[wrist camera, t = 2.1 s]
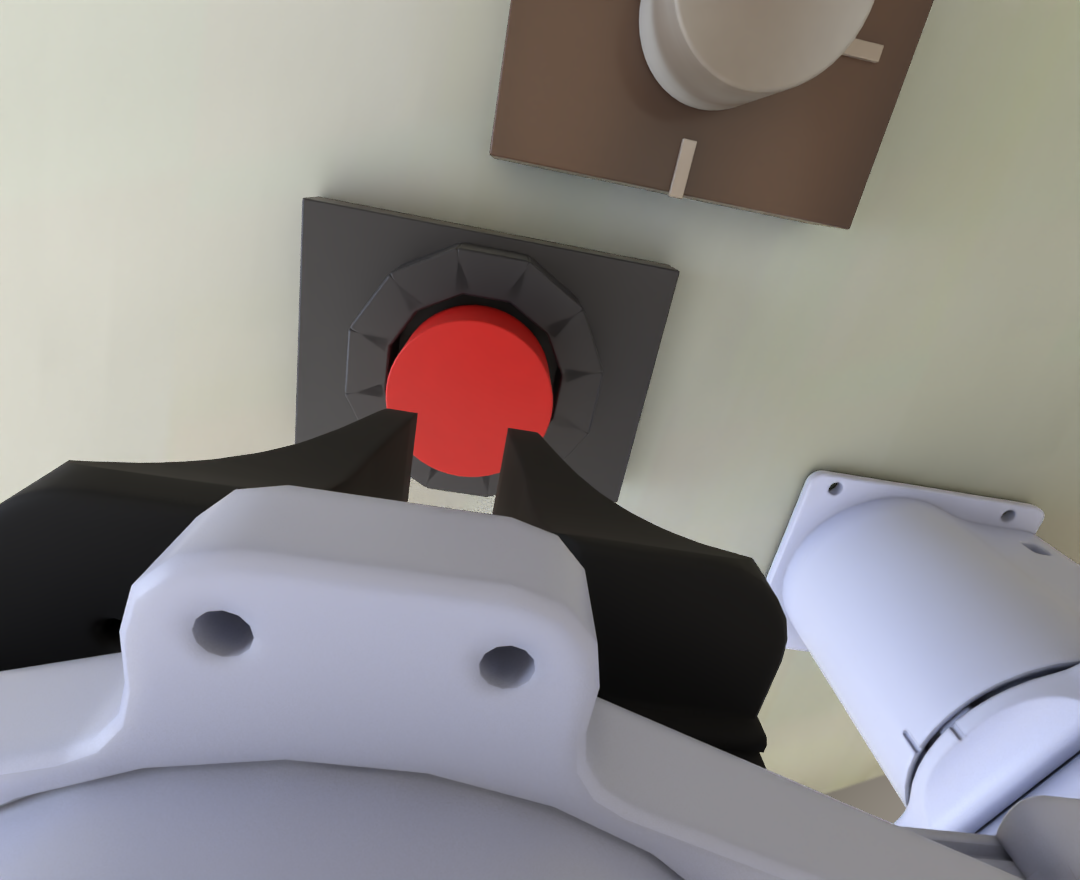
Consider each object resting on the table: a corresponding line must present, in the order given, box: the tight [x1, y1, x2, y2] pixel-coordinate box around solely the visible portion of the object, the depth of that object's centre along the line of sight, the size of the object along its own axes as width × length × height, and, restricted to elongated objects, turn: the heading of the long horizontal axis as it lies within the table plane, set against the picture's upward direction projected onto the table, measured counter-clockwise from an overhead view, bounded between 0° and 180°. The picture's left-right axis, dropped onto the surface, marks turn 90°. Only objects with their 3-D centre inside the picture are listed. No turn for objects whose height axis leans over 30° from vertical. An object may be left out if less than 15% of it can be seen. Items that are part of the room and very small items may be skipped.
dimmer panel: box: [490, 0, 934, 229], centre depth 15 cm, size 10×8×3 cm
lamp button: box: [386, 305, 553, 477], centre depth 17 cm, size 4×4×2 cm
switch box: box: [295, 197, 679, 502], centre depth 19 cm, size 11×8×3 cm
